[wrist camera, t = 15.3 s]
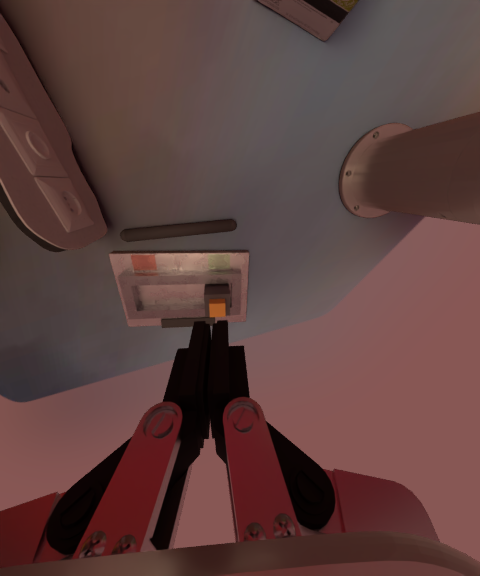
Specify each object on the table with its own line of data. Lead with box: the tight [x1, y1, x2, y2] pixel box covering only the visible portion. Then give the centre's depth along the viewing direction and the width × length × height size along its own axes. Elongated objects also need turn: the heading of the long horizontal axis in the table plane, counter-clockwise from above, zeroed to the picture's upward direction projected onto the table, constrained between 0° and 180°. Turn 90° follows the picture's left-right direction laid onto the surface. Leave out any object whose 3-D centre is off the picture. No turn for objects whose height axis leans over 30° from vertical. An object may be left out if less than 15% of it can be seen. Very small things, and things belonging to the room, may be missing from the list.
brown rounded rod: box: [120, 219, 236, 242], centre depth 32 cm, size 18×2×2 cm, turn 94°
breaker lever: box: [204, 283, 230, 317], centre depth 34 cm, size 4×4×6 cm
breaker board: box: [109, 250, 249, 327], centre depth 36 cm, size 22×14×4 cm, turn 88°
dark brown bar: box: [161, 317, 215, 328], centre depth 39 cm, size 10×2×2 cm, turn 88°
